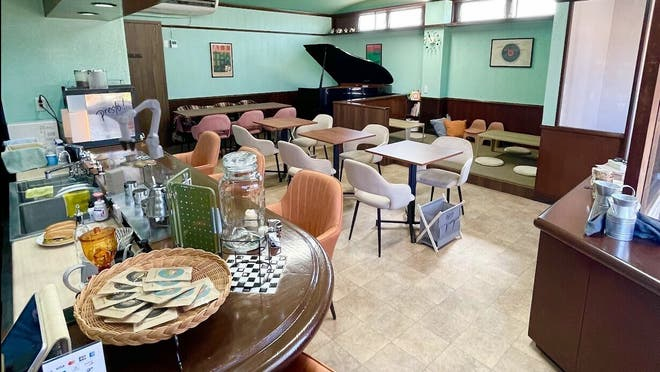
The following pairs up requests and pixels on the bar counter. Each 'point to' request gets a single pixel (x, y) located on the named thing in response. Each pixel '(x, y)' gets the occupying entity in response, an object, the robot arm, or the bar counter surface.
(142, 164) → the stand
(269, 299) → the bar counter surface
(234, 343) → the bar counter surface
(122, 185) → the supplement box
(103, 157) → the teacup with lid
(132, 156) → the block
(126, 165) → the stand
